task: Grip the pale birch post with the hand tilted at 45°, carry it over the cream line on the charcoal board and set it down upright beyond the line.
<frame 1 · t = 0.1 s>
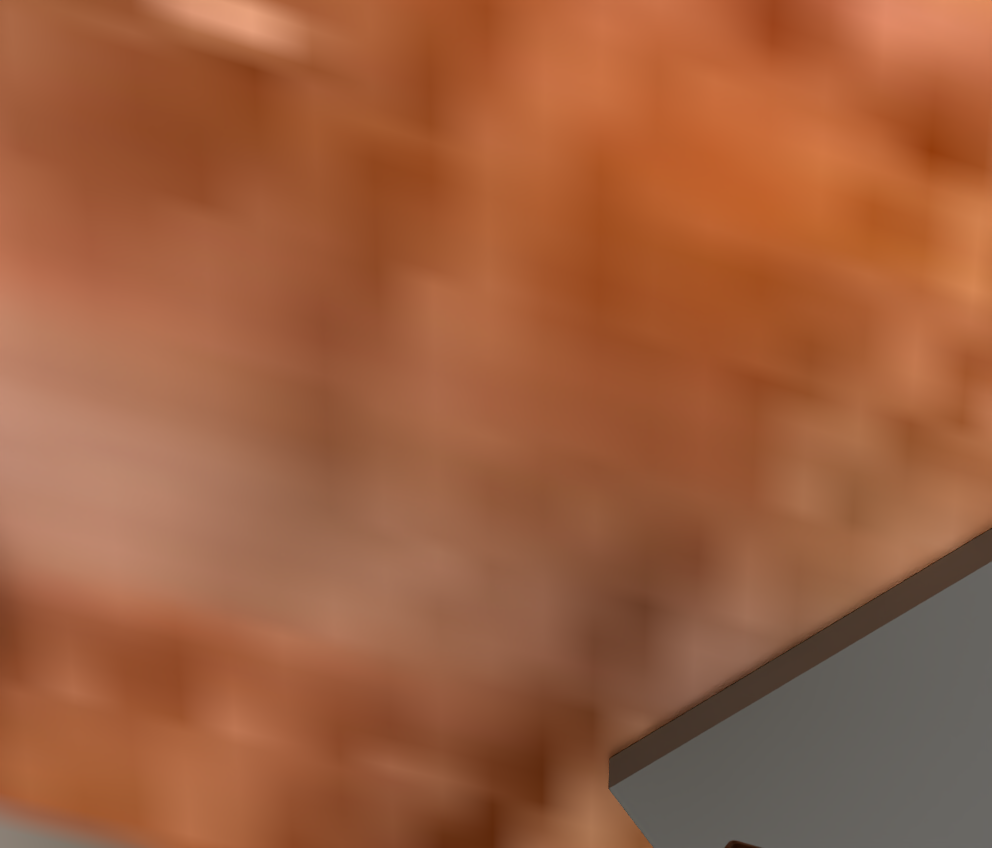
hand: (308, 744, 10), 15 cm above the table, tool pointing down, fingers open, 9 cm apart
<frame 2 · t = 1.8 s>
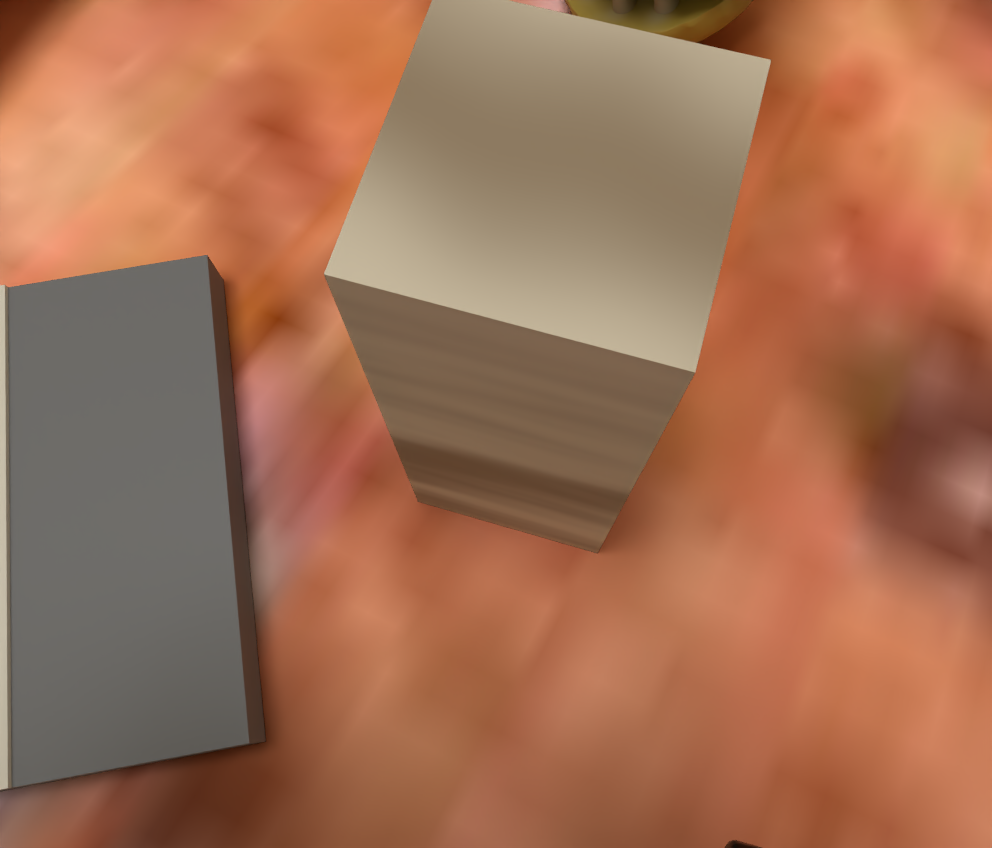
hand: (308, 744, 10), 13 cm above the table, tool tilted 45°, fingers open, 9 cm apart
hamburger: (660, 7, 29), on the table
birch post: (532, 441, 25), on the table
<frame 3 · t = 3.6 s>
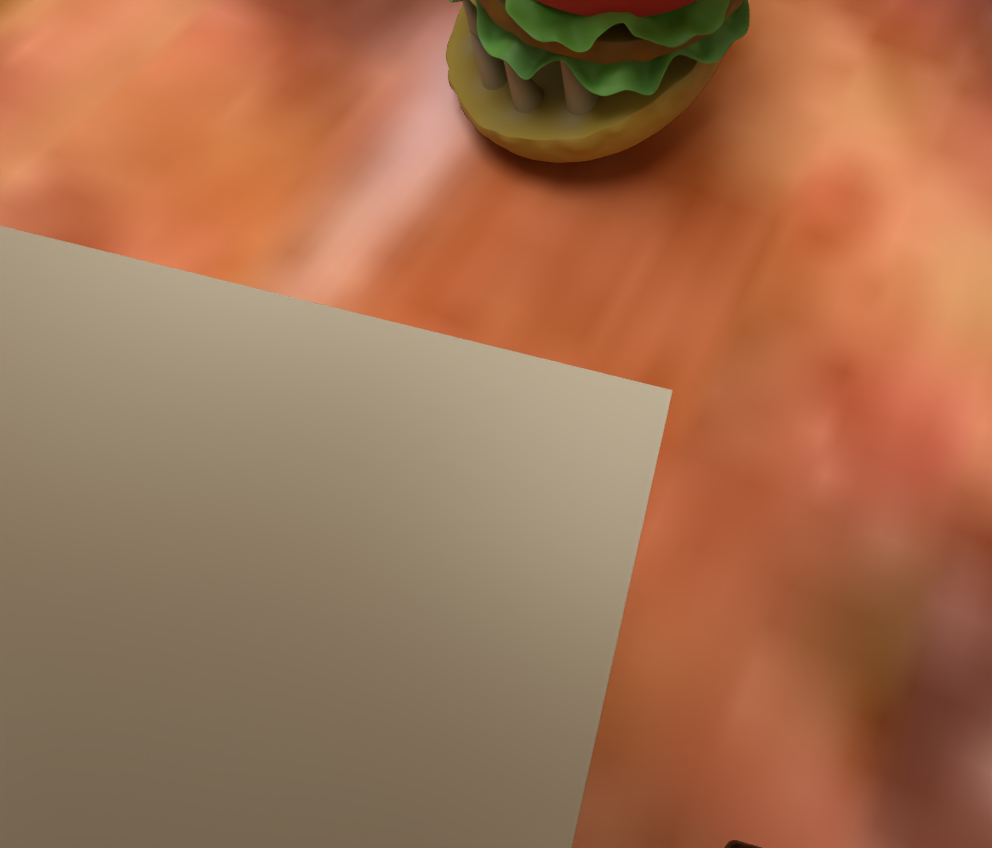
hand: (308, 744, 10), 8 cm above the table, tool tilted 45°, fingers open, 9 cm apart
hamburger: (583, 94, 23), on the table
birch post: (401, 721, 17), on the table
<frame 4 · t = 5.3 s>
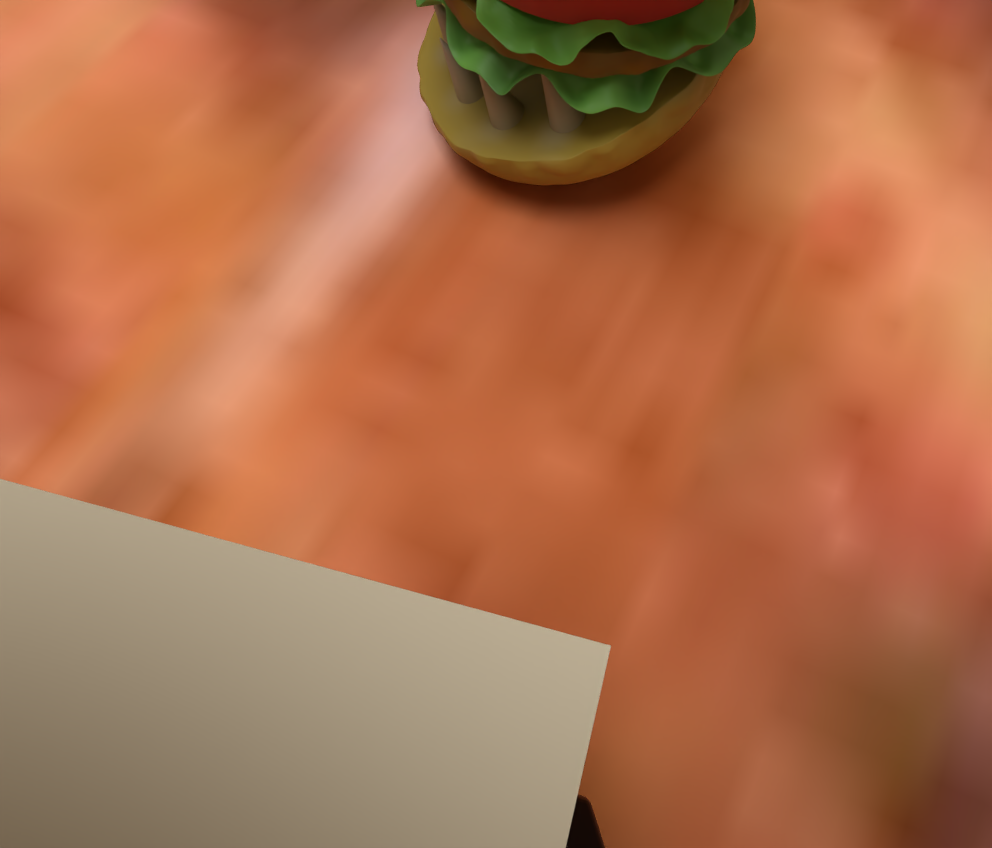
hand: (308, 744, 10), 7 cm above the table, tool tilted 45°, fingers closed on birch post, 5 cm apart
hamburger: (571, 107, 21), on the table
birch post: (360, 825, 15), on the table, touching gripper
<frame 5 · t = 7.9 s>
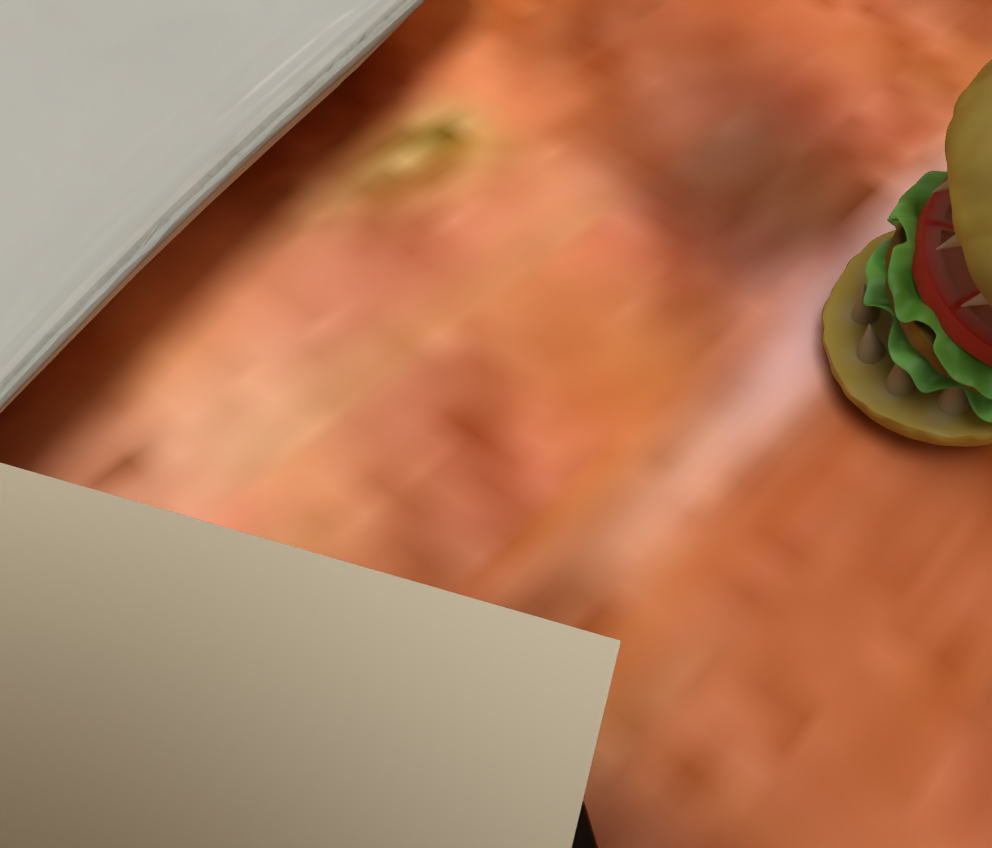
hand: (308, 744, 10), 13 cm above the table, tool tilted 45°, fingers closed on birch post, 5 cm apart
hamburger: (926, 361, 26), on the table
birch post: (375, 829, 15), point 7 cm above the table, touching gripper
when the fingers open (10 cm above the table, at t = 10.9 s): birch post drops 1 cm, resting on charcoal board.
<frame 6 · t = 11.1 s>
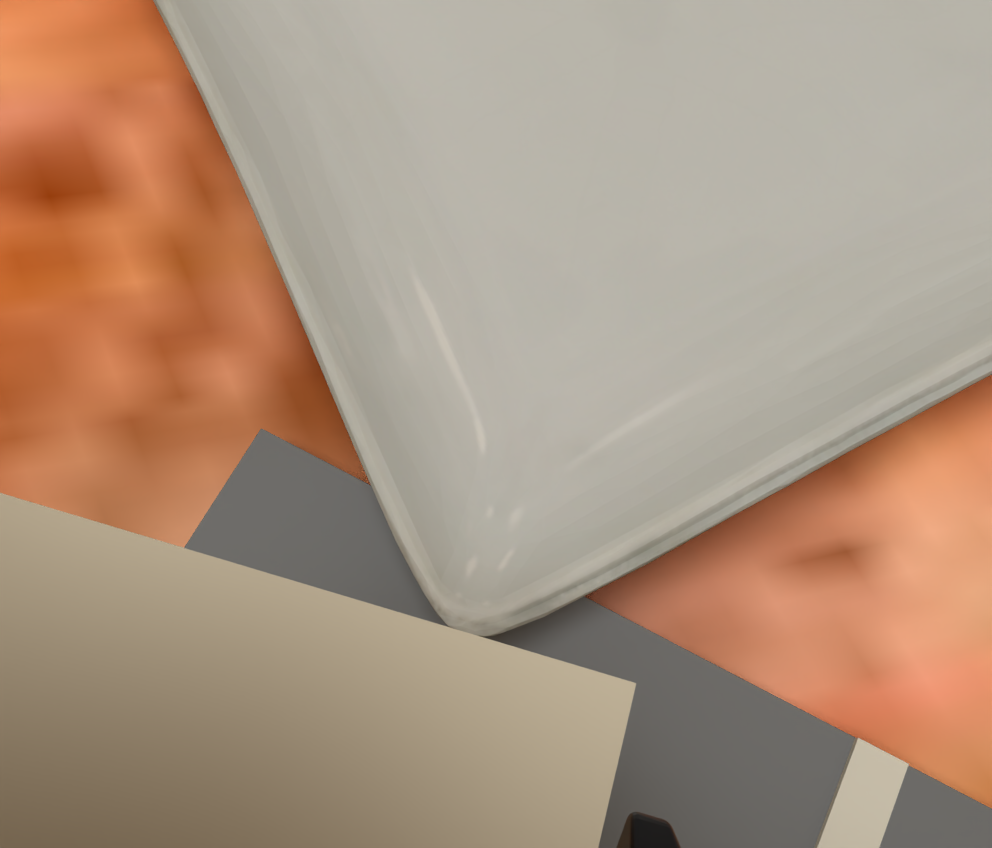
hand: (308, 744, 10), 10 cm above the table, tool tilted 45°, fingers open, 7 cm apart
square plate: (682, 1, 25), on the table, touching charcoal board
birch post: (375, 813, 17), point 2 cm above the table, touching charcoal board
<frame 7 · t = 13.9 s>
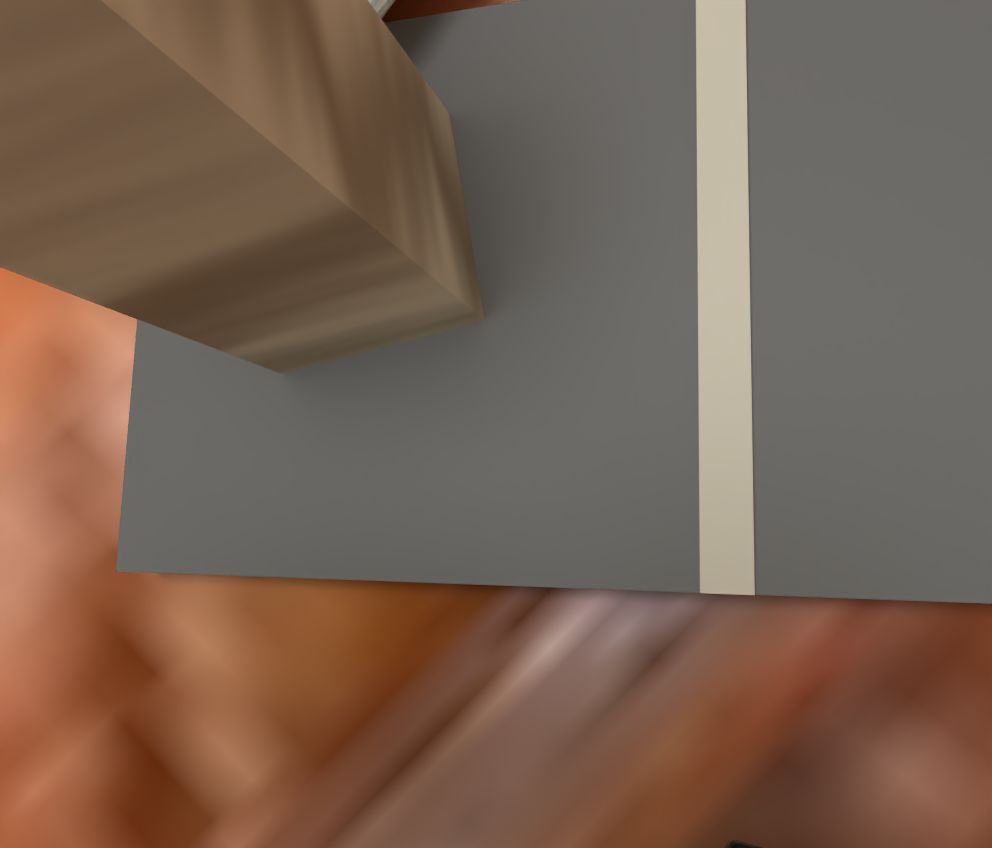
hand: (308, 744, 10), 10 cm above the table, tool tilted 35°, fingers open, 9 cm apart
charcoal board: (547, 297, 21), on the table
birch post: (364, 244, 20), point 1 cm above the table, touching charcoal board
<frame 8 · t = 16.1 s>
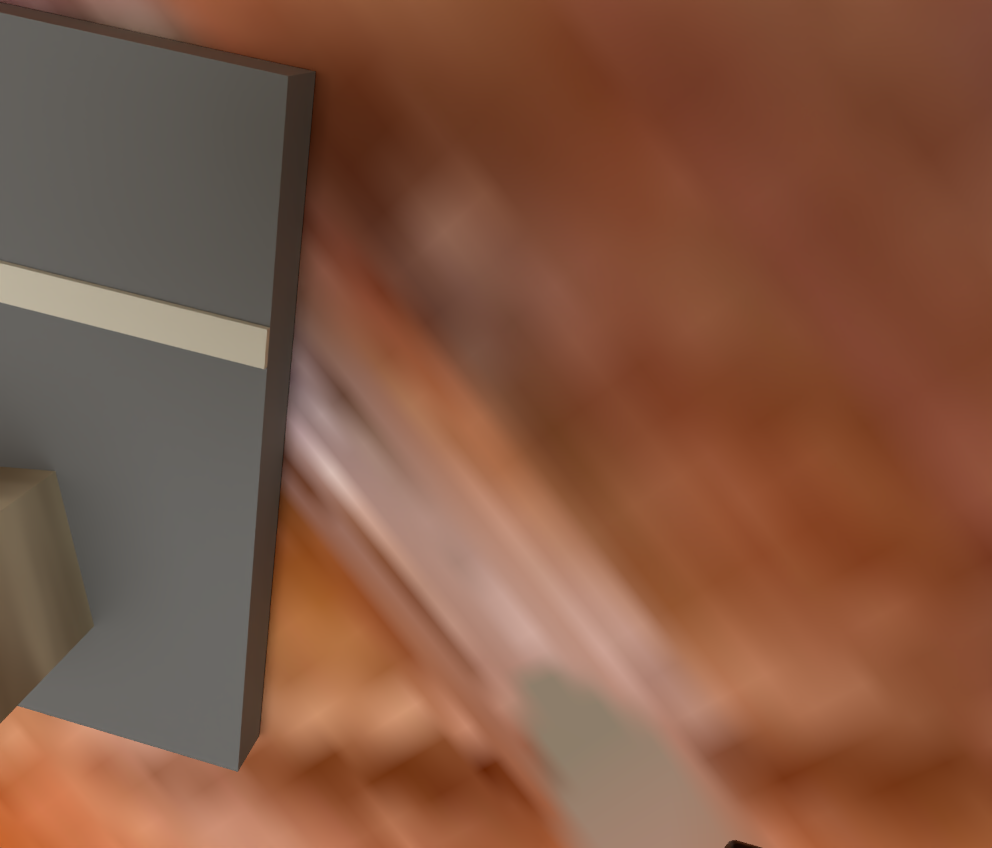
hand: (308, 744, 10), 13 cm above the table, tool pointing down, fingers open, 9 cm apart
charcoal board: (58, 406, 24), on the table
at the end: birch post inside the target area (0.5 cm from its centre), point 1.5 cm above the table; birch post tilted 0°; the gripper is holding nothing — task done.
